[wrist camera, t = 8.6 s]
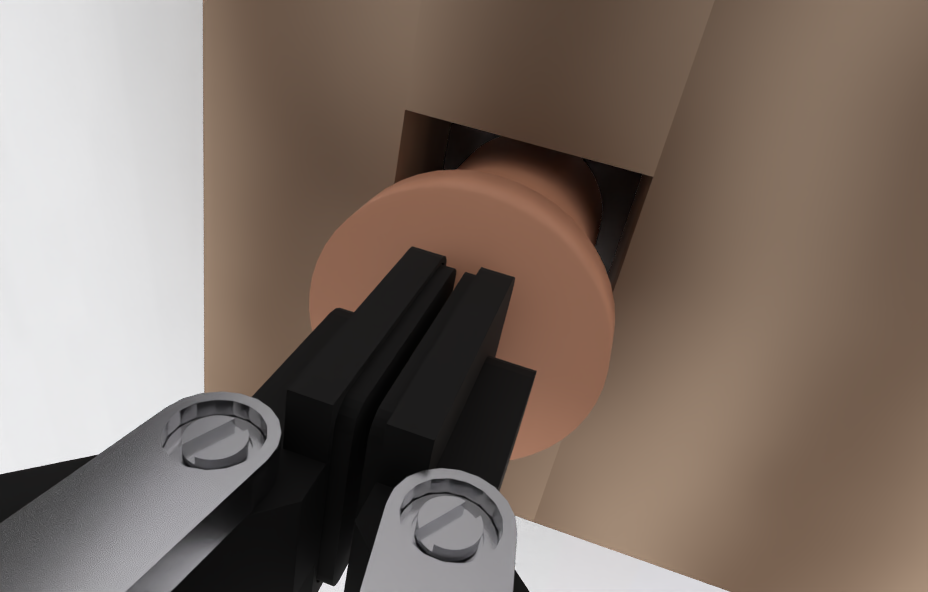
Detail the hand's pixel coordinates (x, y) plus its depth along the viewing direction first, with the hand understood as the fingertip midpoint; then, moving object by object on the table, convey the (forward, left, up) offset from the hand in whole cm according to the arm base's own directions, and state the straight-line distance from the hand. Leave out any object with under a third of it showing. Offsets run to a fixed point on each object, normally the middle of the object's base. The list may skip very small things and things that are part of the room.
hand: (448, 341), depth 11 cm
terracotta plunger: (0, 0, -7) cm, 7 cm away
